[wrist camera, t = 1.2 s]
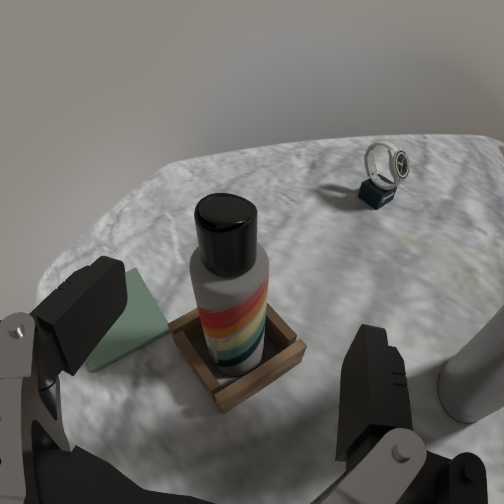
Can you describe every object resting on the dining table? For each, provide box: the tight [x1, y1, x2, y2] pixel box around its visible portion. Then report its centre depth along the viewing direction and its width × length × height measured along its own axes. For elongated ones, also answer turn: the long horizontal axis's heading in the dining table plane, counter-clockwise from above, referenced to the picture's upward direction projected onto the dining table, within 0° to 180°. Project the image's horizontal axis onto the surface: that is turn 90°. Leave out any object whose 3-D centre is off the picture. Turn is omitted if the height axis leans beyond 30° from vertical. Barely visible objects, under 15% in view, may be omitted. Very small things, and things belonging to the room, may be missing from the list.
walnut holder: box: [167, 303, 307, 414], centre depth 32 cm, size 10×10×4 cm
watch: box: [358, 140, 409, 210], centre depth 49 cm, size 6×8×11 cm
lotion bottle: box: [189, 193, 269, 376], centre depth 26 cm, size 6×6×20 cm
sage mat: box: [86, 268, 170, 373], centre depth 35 cm, size 11×11×1 cm
